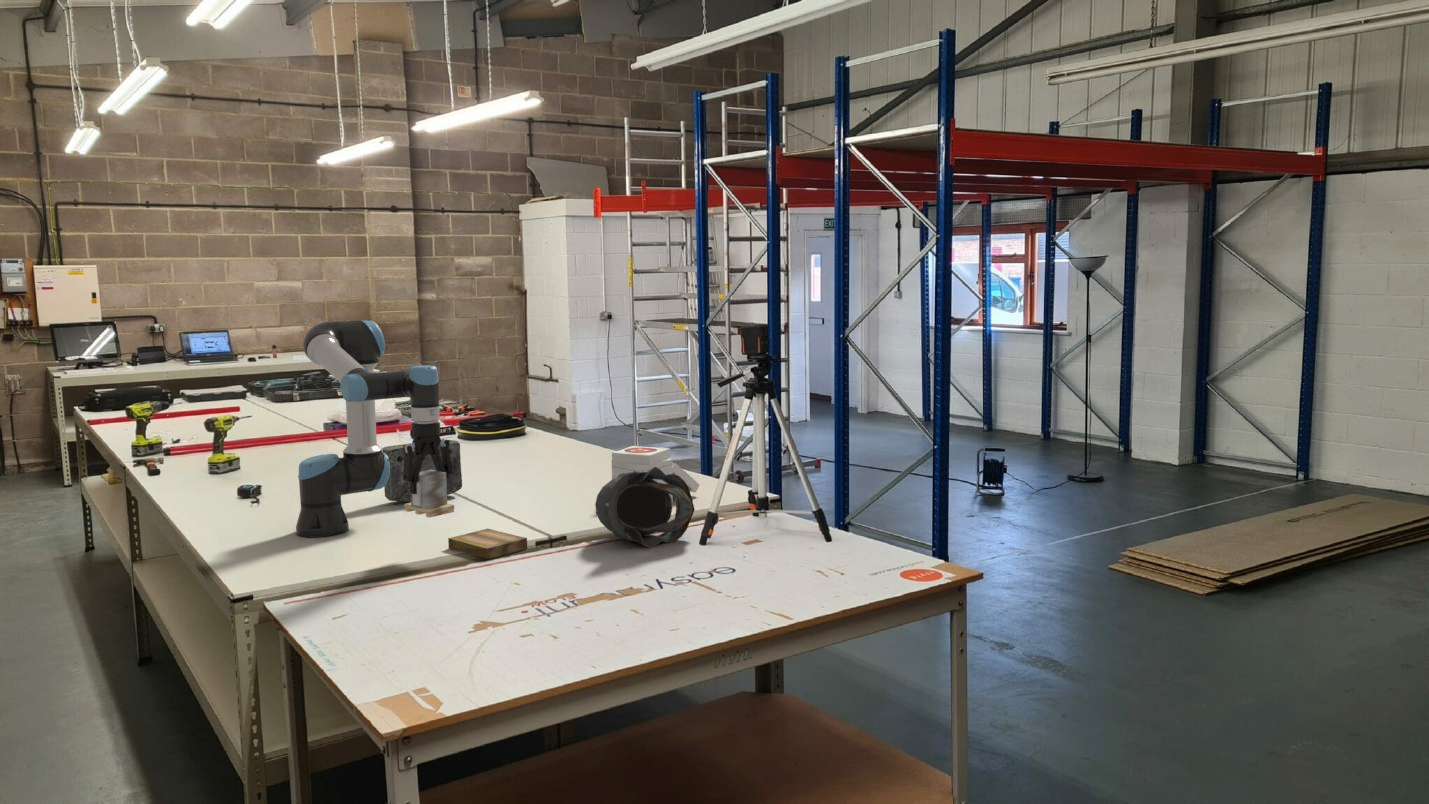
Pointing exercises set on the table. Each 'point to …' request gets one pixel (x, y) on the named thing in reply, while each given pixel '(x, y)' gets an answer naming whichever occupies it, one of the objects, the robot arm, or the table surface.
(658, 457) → the pizza boxes
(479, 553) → the dock
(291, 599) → the table surface
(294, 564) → the table surface
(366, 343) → the robot arm
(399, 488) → the concrete block
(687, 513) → the helmet
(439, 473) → the block
